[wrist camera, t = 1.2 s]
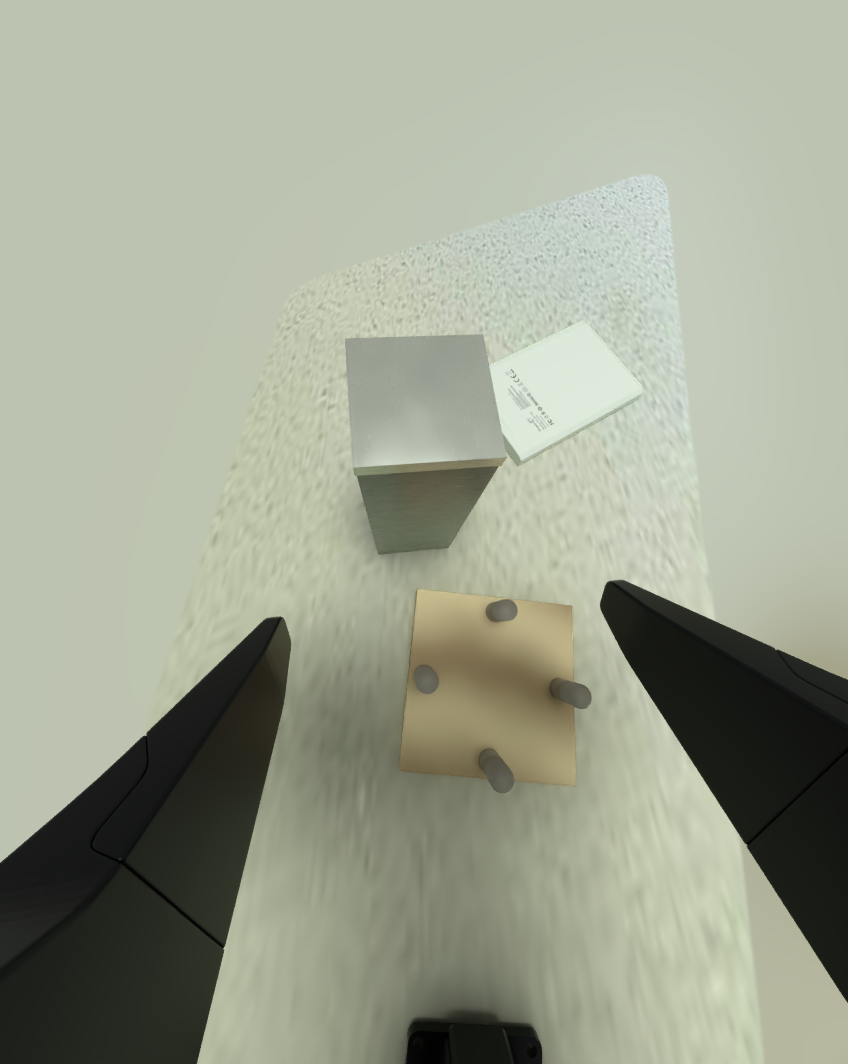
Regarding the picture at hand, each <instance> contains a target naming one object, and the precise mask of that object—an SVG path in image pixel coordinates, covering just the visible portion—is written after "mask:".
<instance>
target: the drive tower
mask: <svg viewBox="0 0 848 1064" xmlns="http://www.w3.org/2000/svg"><path fill="white" fill-rule="evenodd" d="M345 347H346V364H347V380H348V396H349V413H350V429H351V446H352V462H353V470H354V473H355V476H357V478H358V481H359V485H360V489H361V492H362V496H363V500H364V503H365V507H366V511H367V514H368V518H369V522H370V525H371V529H372V533H373V536H374V540H375V544H376V548H377V551H378V554H387V553H398V552H408V551H419V550H430V549H441V548H449V546H450V544H451V543H452V541H453V539H454V538H455V536H456V535H457V533H458V531H459V530H460V528H461V526H462V525H463V523H464V522H465V520H466V518H467V517H468V515H469V514H470V512H471V510H472V509H473V507H474V505H475V504H476V502H477V501H478V499H479V497H480V496H481V494H482V492H483V491H484V489H485V488H486V486H487V484H488V483H489V481H490V479H491V478H492V476H493V475H494V473H495V471H496V470H497V468H498V467H499V466H502V464H503V462H504V461H505V459H506V458H507V456H506V450H505V445H504V440H503V435H502V430H501V424H500V419H499V414H498V409H497V404H496V399H495V393H494V388H493V383H492V378H491V373H490V367H489V362H488V357H487V352H486V347H485V341H484V336H483V334H481V335H448V336H416V337H383V338H351V339H345Z"/></svg>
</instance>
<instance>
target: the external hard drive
mask: <svg viewBox="0 0 848 1064" xmlns="http://www.w3.org/2000/svg"><path fill="white" fill-rule="evenodd" d="M489 367H490V373H491V378H492V383H493V388H494V393H495V399H496V404H497V409H498V414H499V419H500V424H501V430H502V435H503V440H504V445H505V449H506V450H507V452H508V453H509V455H510V456H511V457H512V459H513V460H514V462H515V463H516V464H517V466H519V465H520V464H522V463H524V462H526V461H528V460H529V459H531V458H533V457H535V456H537V455H539V454H540V453H542V452H544V451H546V450H548V449H549V448H551V447H553V446H555V445H556V444H558V443H560V442H562V441H564V440H566V439H567V438H569V437H571V436H573V435H574V434H576V433H578V432H580V431H582V430H583V429H585V428H587V427H589V426H590V425H592V424H594V423H596V422H598V421H599V420H601V419H603V418H605V417H607V416H608V415H610V414H612V413H614V412H615V411H617V410H619V409H621V408H623V407H624V406H626V405H628V404H630V403H631V402H633V401H635V400H637V399H638V398H639V397H640V396H641V395H642V394H643V393H644V389H643V387H642V386H641V384H640V383H639V382H638V381H637V380H636V378H635V377H634V376H633V375H632V374H631V373H630V372H629V370H628V369H627V368H626V367H625V366H624V365H623V363H622V362H621V361H620V360H619V359H618V358H617V356H616V355H615V354H614V353H613V352H612V351H611V350H610V348H609V347H608V346H607V345H606V344H605V342H604V341H603V340H602V339H601V338H600V337H599V335H598V334H597V333H596V332H595V331H594V329H592V327H591V326H590V325H589V324H588V323H587V322H585V321H580V322H578V323H576V324H574V325H572V326H570V327H568V328H566V329H563V330H561V331H559V332H557V333H555V334H553V335H551V336H549V337H547V338H545V339H543V340H541V341H539V342H536V343H534V344H532V345H530V346H528V347H526V348H524V349H522V350H520V351H518V352H516V353H514V354H511V355H509V356H507V357H505V358H503V359H501V360H499V361H497V362H495V363H493V364H491V365H489Z"/></svg>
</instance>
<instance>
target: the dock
mask: <svg viewBox="0 0 848 1064" xmlns="http://www.w3.org/2000/svg"><path fill="white" fill-rule="evenodd" d="M590 703H591V693H590V691H589V689H588V688H587V687H586V686H584V685H582V684H578V683H575V682H574V674H573V627H572V606H569V605H560V604H551V603H542V602H532V601H523V600H514V599H505V598H495V597H486V596H477V595H468V594H458V593H449V592H440V591H431V590H421V589H418V590H417V595H416V605H415V615H414V624H413V634H412V644H411V653H410V663H409V672H408V682H407V692H406V701H405V711H404V721H403V730H402V740H401V750H400V759H399V771H404V772H416V773H427V774H439V775H451V776H462V777H474V778H486V779H488V780H489V782H490V784H491V786H492V787H493V789H494V790H495V791H497V792H499V793H506V792H508V791H509V790H510V789H511V788H512V786H513V784H514V781H521V782H532V783H544V784H556V785H567V786H576V767H575V720H574V707H577V708H579V709H584V708H587V707H588V706H589V705H590Z"/></svg>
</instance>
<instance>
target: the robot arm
mask: <svg viewBox="0 0 848 1064" xmlns="http://www.w3.org/2000/svg"><path fill="white" fill-rule="evenodd" d="M600 608H601V611H602V613H603V615H604V617H605V619H606V621H607V623H608V625H609V627H610V629H611V631H612V633H613V635H614V637H615V639H616V641H617V643H618V645H619V647H620V649H621V650H622V652H623V654H624V656H625V658H626V659H627V661H628V663H629V664H630V666H631V668H632V669H633V671H634V672H635V674H636V675H637V677H638V678H639V680H640V682H641V683H642V685H643V686H644V688H645V689H646V691H647V692H648V694H649V696H650V697H651V699H652V700H653V702H654V703H655V705H656V706H657V708H658V709H659V711H660V713H661V714H662V716H663V717H664V719H665V720H666V722H667V723H668V725H669V727H670V728H671V730H672V731H673V733H674V734H675V736H676V737H677V739H678V740H679V742H680V744H681V745H682V747H683V748H684V750H685V751H686V753H687V754H688V756H689V758H690V759H691V761H692V762H693V764H694V765H695V767H696V768H697V770H698V772H699V773H700V775H701V776H702V778H703V779H704V781H705V782H706V784H707V785H708V787H709V789H710V790H711V792H712V793H713V795H714V796H715V798H716V799H717V801H718V803H719V804H720V806H721V807H722V809H723V810H724V812H725V813H726V815H727V817H728V818H729V820H730V821H731V823H732V824H733V826H734V827H735V829H736V830H737V832H738V834H739V835H740V837H741V838H742V840H743V841H744V843H745V844H747V848H748V849H749V851H750V853H751V854H752V856H753V857H754V859H755V860H756V862H757V863H758V865H759V866H760V868H761V870H762V871H763V872H764V874H765V876H766V877H767V879H768V881H769V882H770V884H771V885H772V887H773V888H774V890H775V891H776V893H777V895H778V896H779V898H780V899H781V901H782V902H783V904H784V905H785V907H786V908H787V910H788V912H789V913H790V915H791V916H792V917H793V919H794V921H795V922H796V924H797V926H798V927H799V929H800V930H801V932H802V933H803V935H804V936H805V938H806V939H807V941H808V943H809V944H810V946H811V947H812V949H813V950H814V952H815V954H816V955H817V957H818V958H819V960H820V961H821V963H822V964H823V966H824V967H825V969H826V971H827V972H828V974H829V975H830V977H831V978H832V980H833V981H834V983H835V985H836V986H837V988H838V989H839V991H840V992H841V994H842V995H843V997H844V998H845V1000H846V1001H847V1002H848V680H847V679H845V678H842V677H840V676H837V675H835V674H832V673H830V672H828V671H825V670H823V669H821V668H818V667H816V666H814V665H811V664H809V663H807V662H805V661H803V660H800V659H798V658H795V657H794V656H791V655H789V654H787V653H785V652H782V651H780V650H775V648H773V647H771V646H769V645H767V644H764V643H762V642H760V641H758V640H756V639H753V638H751V637H749V636H747V635H744V634H742V633H740V632H738V631H736V630H733V629H731V628H729V627H726V626H724V625H722V624H720V623H718V622H716V621H713V620H711V619H709V618H707V617H704V616H702V615H700V614H698V613H696V612H693V611H691V610H689V609H687V608H684V607H682V606H680V605H678V604H676V603H673V602H671V601H669V600H667V599H664V598H662V597H660V596H658V595H656V594H653V593H651V592H649V591H647V590H644V589H642V588H640V587H638V586H636V585H633V584H631V583H629V582H627V581H624V580H614V581H609V582H607V583H606V585H605V588H604V591H603V595H602V598H601V602H600ZM290 651H291V639H290V636H289V632H288V629H287V626H286V623H285V620H284V618H283V617H270V618H266V619H265V620H263V621H262V622H261V623H260V624H259V625H258V626H257V627H256V628H255V629H254V630H253V631H252V632H251V633H250V634H249V635H248V636H247V637H246V638H245V639H244V640H243V641H242V642H241V643H240V644H239V645H237V646H236V647H235V648H234V649H233V650H232V651H231V652H230V653H229V654H228V655H227V656H226V657H225V658H224V659H223V660H222V661H221V662H220V663H219V664H218V665H217V666H216V667H215V668H214V669H212V670H211V671H210V672H209V673H208V674H207V675H206V676H205V677H204V678H203V679H202V680H201V681H200V682H199V683H198V684H197V685H196V686H195V687H194V688H193V689H192V690H191V691H190V692H189V693H187V694H186V695H185V696H184V697H183V698H182V699H181V700H180V701H179V702H178V703H177V704H176V705H175V706H174V707H173V708H172V709H171V710H170V711H169V712H168V713H167V714H166V715H165V716H164V717H162V718H161V719H160V720H159V721H158V722H157V723H156V724H155V725H154V726H153V727H152V728H151V729H150V730H149V731H148V732H147V736H143V737H142V738H140V739H139V740H138V741H137V742H136V743H135V744H134V745H133V746H132V747H131V748H130V749H129V750H128V751H127V752H126V753H125V754H124V755H123V756H122V757H121V758H120V759H118V760H117V761H116V762H115V763H114V764H113V765H112V766H111V767H110V768H109V769H108V770H107V771H105V772H104V773H103V774H102V775H101V776H100V777H99V778H98V779H97V780H96V781H95V782H93V783H92V784H91V785H90V786H89V787H88V788H87V789H85V790H84V791H83V792H82V793H81V794H80V795H79V796H77V797H76V798H75V799H74V800H73V801H72V802H71V803H70V804H68V805H67V806H66V807H65V808H64V809H63V810H61V811H60V812H59V813H58V814H57V815H56V816H54V817H53V818H52V819H51V820H50V821H49V822H47V823H46V824H45V825H44V826H43V827H42V828H40V829H39V830H38V831H37V832H36V833H35V834H33V835H32V836H31V837H30V838H29V839H28V840H26V841H25V842H24V843H23V844H22V845H21V846H19V847H18V848H17V849H16V850H15V851H14V852H13V853H11V854H10V855H9V856H8V857H7V858H6V859H4V860H3V861H2V862H1V863H0V1064H197V1061H198V1057H199V1053H200V1048H201V1044H202V1040H203V1036H204V1032H205V1028H206V1024H207V1020H208V1015H209V1011H210V1007H211V1003H212V999H213V995H214V991H215V987H216V982H217V978H218V974H219V970H220V966H221V962H222V958H223V954H224V949H223V948H224V947H225V944H226V940H227V936H228V932H229V928H230V924H231V920H232V916H233V912H234V907H235V903H236V899H237V895H238V891H239V887H240V883H241V879H242V874H243V870H244V866H245V862H246V858H247V854H248V850H249V846H250V842H251V837H252V833H253V829H254V825H255V821H256V817H257V813H258V809H259V804H260V800H261V796H262V792H263V788H264V784H265V780H266V776H267V772H268V767H269V763H270V759H271V755H272V751H273V747H274V743H275V739H276V734H277V730H278V726H279V722H280V718H281V714H282V709H283V705H284V698H285V691H286V683H287V675H288V667H289V659H290ZM416 1038H421V1039H422V1040H421V1041H420V1042H418V1043H417V1042H414V1040H415V1039H416ZM529 1044H533V1046H532V1048H527V1047H528V1045H529ZM405 1064H542V1047H541V1044H540V1041H539V1038H538V1035H537V1033H536V1031H535V1030H534V1029H532V1028H529V1027H511V1026H493V1025H475V1024H457V1023H439V1022H420V1021H418V1022H414V1023H413V1024H412V1025H411V1026H410V1028H409V1030H408V1034H407V1046H406V1058H405Z"/></svg>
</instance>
